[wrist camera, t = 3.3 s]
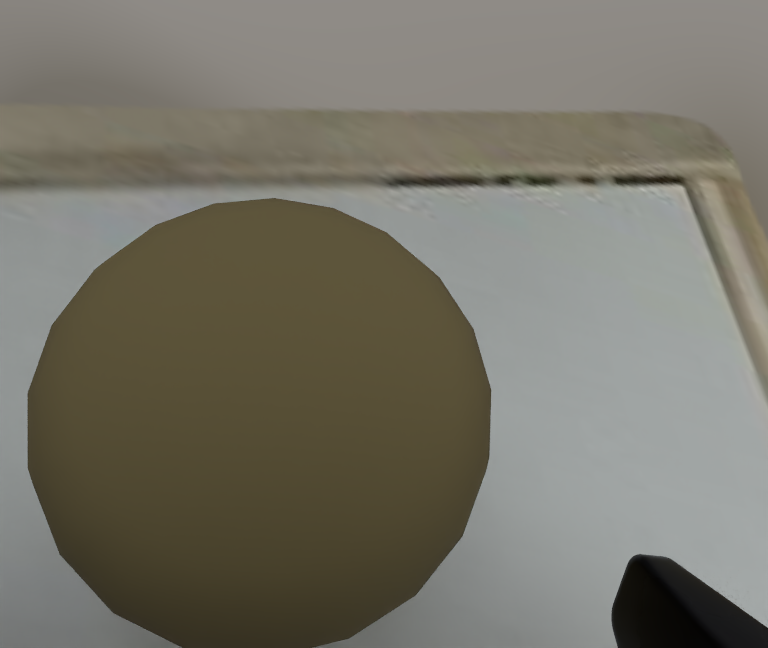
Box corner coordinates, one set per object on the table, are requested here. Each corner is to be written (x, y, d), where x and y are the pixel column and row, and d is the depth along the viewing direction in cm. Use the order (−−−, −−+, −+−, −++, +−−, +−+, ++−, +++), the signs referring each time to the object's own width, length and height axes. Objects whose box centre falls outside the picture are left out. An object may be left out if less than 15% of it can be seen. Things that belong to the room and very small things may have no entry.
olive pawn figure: (359, 688, 15) (523, 827, 5) (105, 614, 15) (-258, 606, 5) (418, 439, 17) (604, 205, 8) (203, 375, 17) (104, 50, 7)
